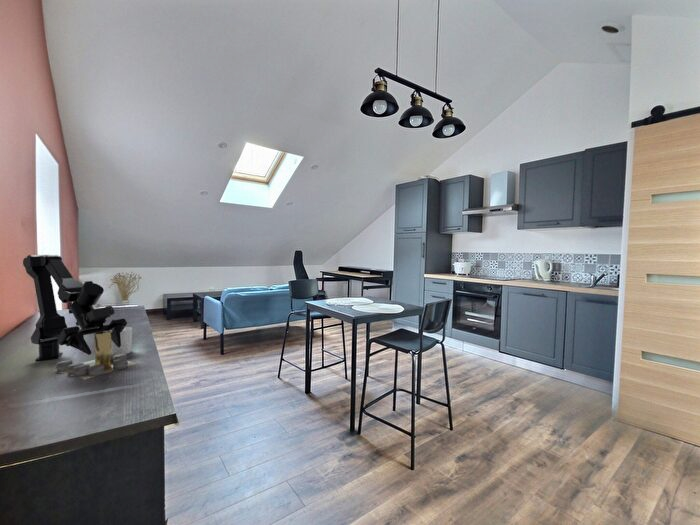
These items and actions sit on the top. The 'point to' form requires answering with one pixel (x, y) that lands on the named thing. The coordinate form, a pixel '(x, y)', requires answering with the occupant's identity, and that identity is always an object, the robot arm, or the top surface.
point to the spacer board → (92, 367)
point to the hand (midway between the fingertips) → (105, 350)
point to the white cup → (123, 342)
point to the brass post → (103, 349)
